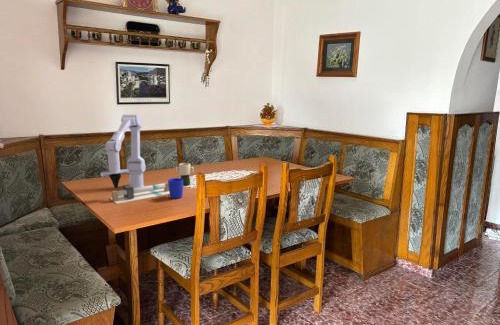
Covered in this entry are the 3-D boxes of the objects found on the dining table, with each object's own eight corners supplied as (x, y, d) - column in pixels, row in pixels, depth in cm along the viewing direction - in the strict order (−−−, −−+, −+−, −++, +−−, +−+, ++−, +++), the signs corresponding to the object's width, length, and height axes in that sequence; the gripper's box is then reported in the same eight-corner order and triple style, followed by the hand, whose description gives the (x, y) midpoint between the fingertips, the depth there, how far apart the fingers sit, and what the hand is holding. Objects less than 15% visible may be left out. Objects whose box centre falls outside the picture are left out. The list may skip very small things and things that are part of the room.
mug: (183, 193, 229) (182, 176, 227) (184, 199, 217) (183, 181, 215) (168, 193, 227) (167, 176, 225) (168, 200, 215) (168, 182, 213)
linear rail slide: (109, 198, 218) (108, 189, 217) (164, 189, 237) (163, 180, 236) (116, 203, 209) (116, 194, 208) (173, 193, 227) (172, 184, 226)
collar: (123, 195, 220) (122, 185, 219) (128, 194, 222) (128, 184, 221) (128, 199, 214) (127, 188, 213) (134, 198, 216) (133, 187, 215)
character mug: (195, 183, 250) (194, 162, 248) (193, 186, 243) (192, 165, 241) (177, 183, 251) (177, 162, 248) (175, 186, 244) (174, 165, 241)
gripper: (102, 165, 206) (104, 191, 209) (130, 162, 215) (131, 187, 218) (98, 163, 212) (100, 188, 215) (125, 160, 220) (127, 184, 223)
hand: (115, 187), depth 217 cm, fingers closed
